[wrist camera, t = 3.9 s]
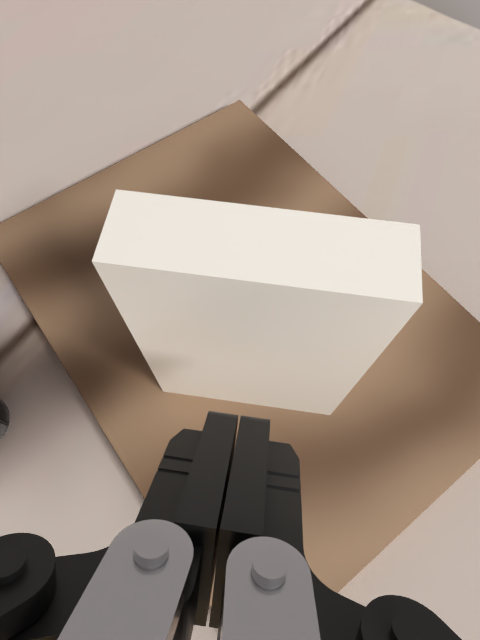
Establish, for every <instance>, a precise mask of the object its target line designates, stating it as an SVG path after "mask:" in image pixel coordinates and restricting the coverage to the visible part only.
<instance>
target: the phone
mask: <svg viewBox="0 0 480 640" xmlns="http://www.w3.org/2000/svg"><path fill="white" fill-rule="evenodd" d="M8 424H9V411H8V408H7V406H6V405H5V404H4V403H3V402H2V401H1V400H0V439H1V438H2V436H3V435H4V434H5V432H6V430H7V427H8Z"/></svg>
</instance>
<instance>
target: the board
mask: <svg viewBox="0 0 480 640" xmlns="http://www.w3.org/2000/svg"><path fill="white" fill-rule="evenodd" d="M116 189H117V190H126V191H135V192H143V193H152V194H160V195H169V196H177V197H186V198H195V199H203V200H212V201H220V202H229V203H238V204H246V205H255V206H263V207H272V208H280V209H289V210H298V211H306V212H315V213H323V214H332V215H341V216H349V217H358V218H366V219H368V218H367V217H365V216H364V215H363V214H362V213H361V212H360V211H359V210H358V209H357V208H356V207H355V206H354V205H353V204H351V203H350V202H349V201H348V200H347V199H346V198H345V197H344V196H343V195H342V194H341V193H340V192H339V191H337V190H336V189H335V188H334V187H333V186H332V185H331V184H330V183H329V182H328V181H327V180H326V179H325V178H323V177H322V176H321V175H320V174H319V173H318V172H317V171H316V170H315V169H314V168H313V167H312V166H310V165H309V164H308V163H307V162H306V161H305V160H304V159H303V158H302V157H301V156H300V155H299V154H298V153H296V152H295V151H294V150H293V149H292V148H291V147H290V146H289V145H288V144H287V143H286V142H285V141H284V140H282V139H281V138H280V137H279V136H278V135H277V134H276V133H275V132H274V131H273V130H272V129H271V128H270V127H268V126H267V125H266V124H265V123H264V122H263V121H262V120H261V119H260V118H259V117H258V116H257V115H256V114H254V113H253V112H252V111H251V110H250V109H249V108H248V107H247V106H246V105H245V104H244V103H243V102H242V101H240V100H238V101H237V102H235V103H233V104H231V105H229V106H227V107H225V108H223V109H221V110H219V111H217V112H215V113H213V114H211V115H209V116H207V117H205V118H204V119H202V120H200V121H198V122H196V123H194V124H192V125H190V126H188V127H186V128H184V129H182V130H180V131H178V132H176V133H174V134H172V135H170V136H169V137H167V138H165V139H163V140H161V141H159V142H157V143H155V144H153V145H151V146H149V147H147V148H145V149H143V150H141V151H139V152H137V153H136V154H134V155H132V156H130V157H128V158H126V159H124V160H122V161H120V162H118V163H116V164H114V165H112V166H110V167H108V168H106V169H104V170H103V171H101V172H99V173H97V174H95V175H93V176H91V177H89V178H87V179H85V180H83V181H81V182H79V183H77V184H75V185H73V186H71V187H69V188H68V189H66V190H64V191H62V192H60V193H58V194H56V195H54V196H52V197H50V198H48V199H46V200H44V201H42V202H40V203H38V204H36V205H35V206H33V207H31V208H29V209H27V210H25V211H23V212H21V213H19V214H17V215H15V216H13V217H11V218H9V219H7V220H5V221H3V222H1V223H0V263H1V264H2V266H3V268H4V269H5V271H6V273H7V274H8V276H9V277H10V279H11V281H12V282H13V284H14V286H15V287H16V289H17V291H18V292H19V294H20V295H21V297H22V299H23V300H24V302H25V304H26V305H27V307H28V309H29V310H30V312H31V313H32V315H33V317H34V318H35V320H36V322H37V323H38V325H39V327H40V328H41V330H42V331H43V333H44V335H45V336H46V338H47V340H48V341H49V343H50V345H51V346H52V348H53V350H54V351H55V353H56V354H57V356H58V358H59V359H60V361H61V363H62V364H63V366H64V368H65V369H66V371H67V372H68V374H69V376H70V377H71V379H72V381H73V382H74V384H75V386H76V387H77V389H78V390H79V392H80V394H81V395H82V397H83V399H84V400H85V402H86V404H87V405H88V407H89V408H90V410H91V412H92V413H93V415H94V417H95V418H96V420H97V422H98V423H99V425H100V426H101V428H102V430H103V431H104V433H105V435H106V436H107V438H108V440H109V441H110V443H111V444H112V446H113V448H114V449H115V451H116V453H117V454H118V456H119V458H120V459H121V461H122V462H123V464H124V466H125V467H126V469H127V471H128V472H129V474H130V476H131V477H132V479H133V480H134V482H135V484H136V485H137V487H138V489H139V490H140V492H141V494H142V495H143V497H144V498H145V497H146V495H147V493H148V490H149V488H150V486H151V483H152V481H153V479H154V476H155V474H156V471H158V467H159V464H160V462H161V460H162V458H163V455H164V452H165V450H166V448H167V445H168V443H169V441H170V439H172V438H173V437H174V436H175V435H176V434H178V433H179V432H180V431H181V430H182V429H184V428H185V429H191V430H198V431H202V430H203V427H204V424H205V421H206V418H207V414H208V412H209V411H214V412H221V413H228V414H235V415H238V425H237V433H236V439H237V434H238V428H239V422H240V417H241V415H243V416H250V417H257V418H263V419H270V435H269V441H274V442H281V443H288V444H290V445H291V446H292V448H293V450H294V451H295V453H296V454H297V456H298V458H299V460H300V482H301V504H302V526H303V548H304V555H305V558H306V561H307V563H308V565H309V567H310V569H311V570H312V571H313V573H314V574H315V575H316V577H317V578H318V579H319V580H320V581H321V582H322V583H323V584H325V585H326V586H327V587H328V588H330V589H331V590H333V591H334V592H336V593H338V592H339V591H340V590H341V589H342V588H343V587H344V586H345V585H346V584H347V583H348V582H349V581H350V580H352V579H353V578H354V577H355V576H356V575H357V574H358V573H359V572H360V571H361V570H362V569H363V568H364V567H365V566H366V565H367V564H368V563H370V562H371V561H372V560H373V559H374V558H375V557H376V556H377V555H378V554H379V553H380V552H381V551H382V550H383V549H384V548H385V547H386V546H388V545H389V544H390V543H391V542H392V541H393V540H394V539H395V538H396V537H397V536H398V535H399V534H400V533H401V532H402V531H403V530H404V529H406V528H407V527H408V526H409V525H410V524H411V523H412V522H413V521H414V520H415V519H416V518H417V517H418V516H419V515H420V514H421V513H422V512H424V511H425V510H426V509H427V508H428V507H429V506H430V505H431V504H432V503H433V502H434V501H435V500H436V499H437V498H438V497H439V496H440V495H442V494H443V493H444V492H445V491H446V490H447V489H448V488H449V487H450V486H451V485H452V484H453V483H454V482H455V481H456V480H457V479H458V478H460V477H461V476H462V475H463V474H464V473H465V472H466V471H467V470H468V469H469V468H470V467H471V466H472V465H473V464H474V463H475V462H476V461H478V460H479V459H480V322H479V321H478V320H476V319H475V318H474V317H473V316H472V315H471V314H470V313H469V312H468V311H467V310H466V309H465V308H464V307H462V306H461V305H460V304H459V303H458V302H457V301H456V300H455V299H454V298H453V297H452V296H451V295H450V294H448V293H447V292H446V291H445V290H444V289H443V288H442V287H441V286H440V285H439V284H438V283H437V282H436V281H434V280H433V279H432V278H431V277H430V276H429V275H428V274H427V273H426V272H425V271H424V270H423V269H422V294H423V304H422V305H421V306H420V307H419V308H418V310H417V311H416V312H415V313H414V314H413V316H412V317H411V318H410V319H409V320H408V322H407V323H406V324H405V325H404V327H403V328H402V329H401V330H400V331H399V333H398V334H397V335H396V336H395V337H394V339H393V340H392V341H391V342H390V343H389V345H388V346H387V347H386V348H385V350H384V351H383V352H382V353H381V354H380V356H379V357H378V358H377V359H376V360H375V362H374V363H373V364H372V365H371V366H370V368H369V369H368V370H367V371H366V373H365V374H364V375H363V376H362V377H361V379H360V380H359V381H358V382H357V383H356V385H355V386H354V387H353V388H352V389H351V391H350V392H349V393H348V394H347V396H346V397H345V398H344V399H343V400H342V402H341V403H340V404H339V405H338V406H337V408H336V409H335V410H334V411H333V412H332V414H331V415H325V414H318V413H311V412H304V411H297V410H290V409H283V408H276V407H269V406H262V405H255V404H248V403H241V402H234V401H227V400H220V399H213V398H206V397H198V396H191V395H184V394H177V393H170V392H163V390H162V388H161V387H160V385H159V383H158V381H157V379H156V378H155V376H154V374H153V372H152V370H151V368H150V367H149V365H148V363H147V361H146V359H145V358H144V356H143V354H142V352H141V350H140V348H139V347H138V345H137V343H136V341H135V339H134V337H133V336H132V334H131V332H130V330H129V328H128V327H127V325H126V323H125V321H124V319H123V317H122V316H121V314H120V312H119V310H118V308H117V307H116V305H115V303H114V301H113V299H112V297H111V296H110V294H109V292H108V290H107V288H106V286H105V285H104V283H103V281H102V279H101V277H100V276H99V274H98V272H97V270H96V268H95V266H94V265H93V263H92V259H93V256H94V253H95V250H96V247H97V244H98V241H99V238H100V235H101V232H102V229H103V226H104V223H105V220H106V217H107V214H108V211H109V209H110V206H111V203H112V200H113V197H114V194H115V191H116ZM235 445H236V441H235ZM215 571H216V569H215ZM214 580H215V575H214ZM213 588H214V581H213V586H212V592H211V598H210V603H209V605H210V607H211V606H212V597H213Z"/></svg>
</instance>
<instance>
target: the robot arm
mask: <svg viewBox="0 0 480 640" xmlns="http://www.w3.org/2000/svg"><path fill="white" fill-rule="evenodd" d="M237 425H238V415H235V414H228V413H221V412H214V411H209V412H208V414H207V418H206V421H205V424H204V427H203V430H202V431H198V430H191V429H185V428H184V429H182V430H181V431H180V432H179V433H178V434H176V435H175V436H174V437H173V438H172V439H170V441H169V443H168V445H167V448H166V450H165V452H164V455H163V458H162V460H161V462H160V464H159V467H158V471H156V474H155V476H154V479H153V481H152V483H151V486H150V488H149V490H148V493H147V495H146V497H145V500H144V502H143V505H142V507H141V509H140V512H139V514H138V516H137V519H136V521H135V523H134V524H132V525H130V526H128V527H126V528H125V529H123V530H122V531H121V532H120V533H119V534H118V535H117V536H116V537H115V538H114V540H113V541H112V543H111V544H110V546H109V547H106V548H104V549H101V550H98V551H95V552H90V553H83V554H75V555H67V556H59V557H55V553H54V549H53V547H52V546H51V544H50V543H49V542H48V541H47V540H46V539H44V538H43V537H40V536H38V535H35V534H30V533H14V534H8V535H4V536H1V537H0V640H191V635H192V630H193V625H200V626H206V621H207V615H208V609H209V603H210V598H211V592H212V586H213V581H214V588H213V597H212V606H211V615H210V623H209V627H213V628H218V636H217V640H462V639H460V638H459V637H458V636H457V635H456V634H455V633H454V632H453V631H452V630H451V629H450V628H449V627H448V626H447V625H446V624H445V623H444V622H443V621H442V620H441V619H440V618H439V617H438V616H437V615H436V614H434V613H433V612H432V611H431V610H429V609H428V608H427V607H425V606H424V605H422V604H420V603H418V602H416V601H414V600H412V599H409V598H406V597H402V596H396V595H385V596H381V597H378V598H376V599H374V600H372V601H371V602H370V603H369V604H368V605H367V607H365V606H363V605H360V604H358V603H356V602H354V601H352V600H350V599H348V598H346V597H344V596H342V595H340V594H338V593H336V592H334V591H333V590H331V589H330V588H328V587H327V586H326V585H325V584H323V583H322V582H321V581H320V580H319V579H318V578H317V577H316V575H315V574H314V573H313V571H312V570H311V569H310V567H309V565H308V563H307V561H306V558H305V555H304V548H303V526H302V504H301V482H300V460H299V458H298V456H297V454H296V453H295V451H294V450H293V448H292V446H291V445H290V444H288V443H281V442H274V441H269V435H270V419H263V418H257V417H250V416H243V415H241V417H240V422H239V428H238V434H237V439H236V433H237ZM235 441H236V445H235ZM215 569H216V571H215ZM214 575H215V580H214Z"/></svg>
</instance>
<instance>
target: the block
mask: <svg viewBox="0 0 480 640" xmlns="http://www.w3.org/2000/svg"><path fill="white" fill-rule="evenodd" d="M92 263H93V265H94V266H95V268H96V270H97V272H98V274H99V276H100V277H101V279H102V281H103V283H104V285H105V286H106V288H107V290H108V292H109V294H110V296H111V297H112V299H113V301H114V303H115V305H116V307H117V308H118V310H119V312H120V314H121V316H122V317H123V319H124V321H125V323H126V325H127V327H128V328H129V330H130V332H131V334H132V336H133V337H134V339H135V341H136V343H137V345H138V347H139V348H140V350H141V352H142V354H143V356H144V358H145V359H146V361H147V363H148V365H149V367H150V368H151V370H152V372H153V374H154V376H155V378H156V379H157V381H158V383H159V385H160V387H161V388H162V390H163V392H170V393H177V394H184V395H191V396H198V397H206V398H213V399H220V400H227V401H234V402H241V403H248V404H255V405H262V406H269V407H276V408H283V409H290V410H297V411H304V412H311V413H318V414H325V415H331V414H332V412H333V411H334V410H335V409H336V408H337V406H338V405H339V404H340V403H341V402H342V400H343V399H344V398H345V397H346V396H347V394H348V393H349V392H350V391H351V389H352V388H353V387H354V386H355V385H356V383H357V382H358V381H359V380H360V379H361V377H362V376H363V375H364V374H365V373H366V371H367V370H368V369H369V368H370V366H371V365H372V364H373V363H374V362H375V360H376V359H377V358H378V357H379V356H380V354H381V353H382V352H383V351H384V350H385V348H386V347H387V346H388V345H389V343H390V342H391V341H392V340H393V339H394V337H395V336H396V335H397V334H398V333H399V331H400V330H401V329H402V328H403V327H404V325H405V324H406V323H407V322H408V320H409V319H410V318H411V317H412V316H413V314H414V313H415V312H416V311H417V310H418V308H419V307H420V306H421V305H422V304H423V294H422V268H421V242H420V225H418V224H409V223H401V222H392V221H383V220H375V219H366V218H358V217H349V216H341V215H332V214H323V213H315V212H306V211H298V210H289V209H280V208H272V207H263V206H255V205H246V204H238V203H229V202H220V201H212V200H203V199H195V198H186V197H177V196H169V195H160V194H152V193H143V192H135V191H126V190H117V189H116V191H115V194H114V197H113V200H112V203H111V206H110V209H109V211H108V214H107V217H106V220H105V223H104V226H103V229H102V232H101V235H100V238H99V241H98V244H97V247H96V250H95V253H94V256H93V259H92Z"/></svg>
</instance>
